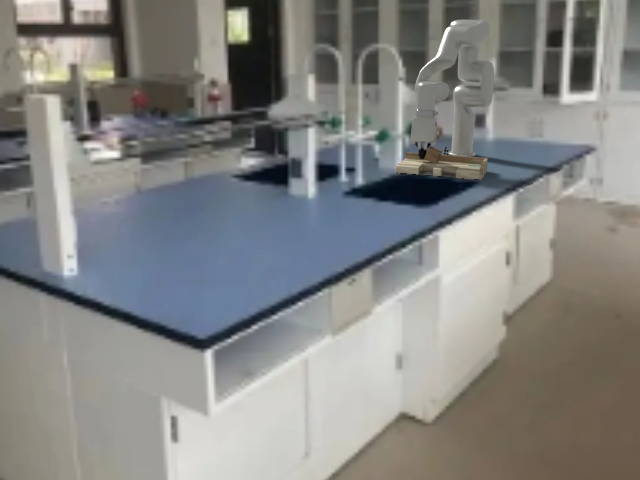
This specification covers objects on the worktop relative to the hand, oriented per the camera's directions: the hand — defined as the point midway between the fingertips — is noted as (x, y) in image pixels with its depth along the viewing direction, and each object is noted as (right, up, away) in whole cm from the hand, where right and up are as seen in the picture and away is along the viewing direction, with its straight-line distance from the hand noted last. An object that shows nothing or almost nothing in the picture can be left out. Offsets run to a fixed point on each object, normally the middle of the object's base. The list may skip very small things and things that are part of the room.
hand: (422, 158), depth 291 cm
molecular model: (+17, -2, +10) cm, 20 cm away
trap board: (+7, -6, -5) cm, 11 cm away
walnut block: (+3, -1, -1) cm, 4 cm away
